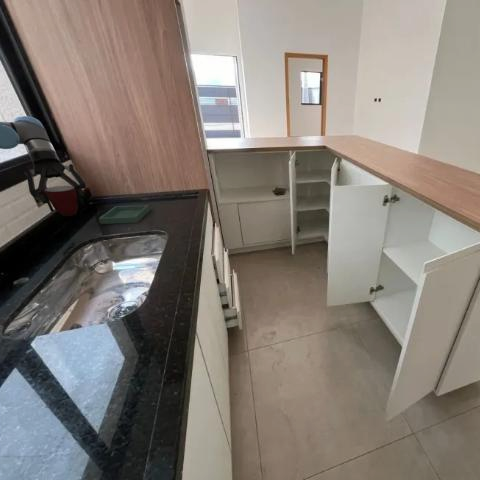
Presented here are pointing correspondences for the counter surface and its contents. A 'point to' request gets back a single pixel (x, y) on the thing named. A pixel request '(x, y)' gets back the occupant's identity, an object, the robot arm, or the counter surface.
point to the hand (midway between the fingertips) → (67, 206)
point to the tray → (124, 214)
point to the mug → (63, 199)
